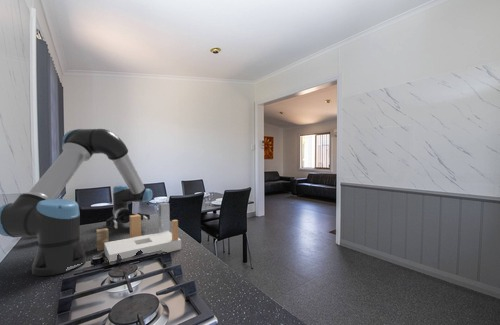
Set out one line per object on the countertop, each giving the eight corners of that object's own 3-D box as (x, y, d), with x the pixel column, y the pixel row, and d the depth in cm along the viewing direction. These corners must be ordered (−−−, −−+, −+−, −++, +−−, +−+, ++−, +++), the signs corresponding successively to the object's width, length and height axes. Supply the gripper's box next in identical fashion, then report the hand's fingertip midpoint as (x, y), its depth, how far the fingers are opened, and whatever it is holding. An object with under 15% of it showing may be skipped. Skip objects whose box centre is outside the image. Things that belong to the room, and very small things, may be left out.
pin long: (161, 238, 117) (160, 204, 117) (159, 236, 120) (158, 203, 120) (170, 236, 119) (169, 203, 119) (167, 234, 123) (166, 202, 122)
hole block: (109, 266, 87) (108, 232, 86) (104, 252, 99) (103, 223, 99) (181, 249, 102) (180, 220, 102) (168, 239, 115) (168, 213, 115)
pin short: (97, 251, 101) (97, 231, 101) (96, 248, 105) (96, 229, 105) (108, 248, 104) (108, 230, 104) (107, 246, 107) (107, 227, 107)
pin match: (131, 244, 109) (131, 217, 109) (130, 241, 112) (129, 215, 112) (141, 242, 112) (140, 215, 111) (139, 239, 115) (138, 214, 115)
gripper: (147, 218, 143) (158, 226, 126) (97, 226, 128) (102, 235, 111) (147, 205, 143) (158, 211, 126) (97, 211, 128) (102, 219, 111)
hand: (132, 223), depth 119 cm, fingers open, 13 cm apart
